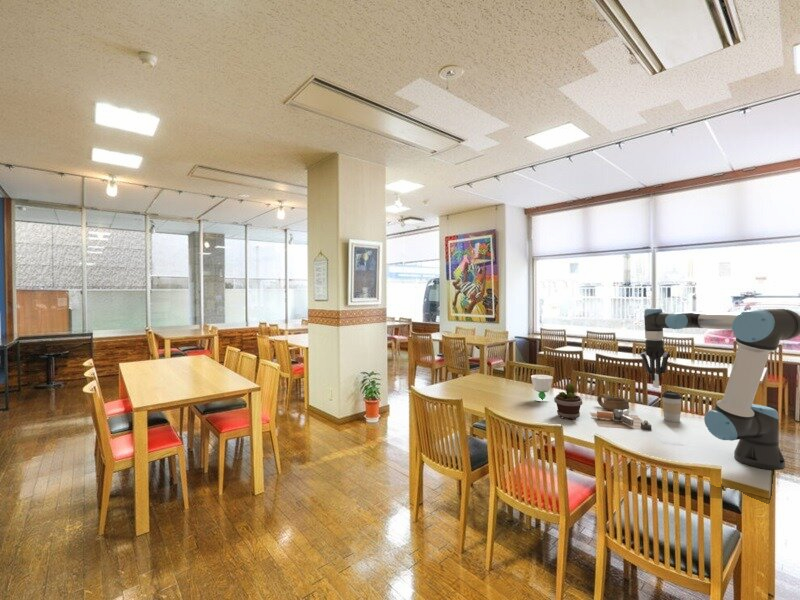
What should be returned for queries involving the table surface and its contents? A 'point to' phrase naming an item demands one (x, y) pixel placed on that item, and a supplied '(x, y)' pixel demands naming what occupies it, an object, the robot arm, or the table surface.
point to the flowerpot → (568, 403)
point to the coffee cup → (671, 406)
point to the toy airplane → (622, 423)
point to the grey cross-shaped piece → (616, 416)
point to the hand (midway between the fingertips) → (656, 387)
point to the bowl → (613, 402)
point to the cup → (541, 384)
